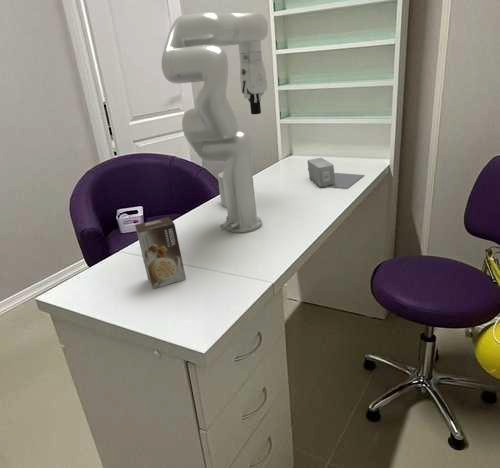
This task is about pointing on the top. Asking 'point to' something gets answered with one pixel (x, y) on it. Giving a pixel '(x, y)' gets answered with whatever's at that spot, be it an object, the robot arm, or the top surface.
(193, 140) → the robot arm
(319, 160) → the skincare box
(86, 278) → the top surface
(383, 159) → the top surface
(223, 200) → the toilet paper roll
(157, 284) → the coffee box
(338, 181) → the mat
